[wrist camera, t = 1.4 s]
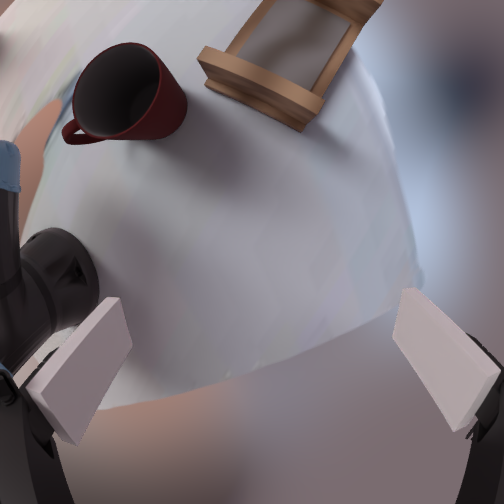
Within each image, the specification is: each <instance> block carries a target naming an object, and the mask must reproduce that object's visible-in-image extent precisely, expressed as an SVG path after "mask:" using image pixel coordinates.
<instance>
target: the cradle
mask: <svg viewBox="0 0 504 504" xmlns="http://www.w3.org/2000/svg"><path fill="white" fill-rule="evenodd" d="M383 1H384V0H263V1H262V2H261V4H260V5H259V6H258V7H257V9H256V10H255V11H254V12H253V14H252V15H251V16H250V18H249V19H248V20H247V22H246V23H245V24H244V26H243V27H242V28H241V30H240V31H239V32H238V34H237V35H236V37H235V38H234V39H233V41H232V42H231V44H230V45H229V47H228V48H227V49H226V51H225V52H222V51H219V50H217V49H214V48H211V47H208V46H205V47H204V48H203V50H202V51H201V53H200V54H199V56H198V57H197V60H198V62H199V64H200V65H201V67H202V69H203V70H204V72H205V74H206V75H207V77H208V79H207V80H206V82H205V84H204V85H205V86H206V87H207V88H209V89H212V90H214V91H216V92H219V93H221V94H223V95H226V96H228V97H230V98H232V99H235V100H237V101H239V102H241V103H243V104H246V105H248V106H250V107H252V108H254V109H256V110H258V111H260V112H262V113H264V114H266V115H268V116H270V117H272V118H274V119H276V120H278V121H280V122H282V123H283V124H285V125H287V126H289V127H291V128H293V129H294V130H296V131H298V132H300V133H301V132H302V131H303V129H304V128H305V126H306V124H308V123H309V122H310V121H311V120H312V119H313V118H314V117H315V116H316V115H317V114H318V113H319V111H320V109H321V107H322V106H323V104H324V102H325V100H324V99H322V96H323V94H324V93H325V91H326V89H327V87H328V86H329V84H330V82H331V81H332V79H333V77H334V75H335V74H336V72H337V70H338V69H339V67H340V65H341V63H342V62H343V60H344V58H345V57H346V55H347V53H348V52H349V50H350V48H351V46H352V45H353V43H354V41H355V40H356V38H357V36H358V35H359V33H360V31H361V30H362V28H363V26H364V25H365V23H367V21H368V20H369V18H371V16H372V15H373V14H374V13H375V12H376V10H377V9H378V8H379V7H380V6H381V4H382V2H383Z"/></svg>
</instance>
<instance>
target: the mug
mask: <svg viewBox="0 0 504 504" xmlns="http://www.w3.org/2000/svg"><path fill="white" fill-rule="evenodd" d="M72 109H73V115H74V118H75V119H73V120H71V121H70V122H69V123H67V124H66V125H65V126H64V127H63V129H62V136H63V139H64V141H65V142H66V143H67V144H71V145H83V144H91V143H96V142H100V141H104V140H107V139H108V140H156V139H162V138H164V137H167V136H169V135H170V134H172V133H173V132H175V131H176V130H177V129H178V128H179V126H180V125H181V124H182V122H183V120H184V118H185V115H186V112H187V100H186V96H185V94H184V92H183V91H182V89H181V88H180V86H179V84H178V83H177V81H176V80H175V78H174V77H173V75H172V74H171V72H170V71H169V70H168V68H167V67H166V66H165V64H164V63H163V62H162V60H161V59H160V58H159V57H158V56H157V55H156V54H155V53H154V52H153V51H152V50H151V49H150V48H148V47H147V46H145V45H142V44H139V43H132V42H129V43H121V44H118V45H115V46H112V47H110V48H108V49H106V50H104V51H103V52H101V53H100V54H98V55H97V56H96V57H95V58H94V59H93V60H92V61H91V62H90V63H89V64H88V65H87V66H86V68H85V69H84V70H83V72H82V73H81V75H80V77H79V79H78V81H77V83H76V86H75V89H74V93H73V100H72ZM80 129H81V130H82V131H83V132H84V133H86V134H74V133H75V132H77V131H78V130H80Z"/></svg>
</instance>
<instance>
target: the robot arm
mask: <svg viewBox="0 0 504 504" xmlns="http://www.w3.org/2000/svg"><path fill="white" fill-rule="evenodd" d="M20 161H21V157H20V152H19V149H18V147H17V146H16V145H15V144H14V143H12V142H9V141H5V140H0V504H75V503H74V501H73V498H72V495H71V493H70V490H69V487H68V484H67V481H66V478H65V475H64V472H63V469H62V465H61V462H60V459H59V455H58V451H57V447H56V443H55V441H54V438H53V437H52V434H53V432H54V431H55V432H56V433H57V434H58V436H59V437H60V438H61V440H62V441H65V442H68V443H70V444H73V445H75V446H78V445H79V442H80V441H81V439H82V437H83V435H84V433H85V431H86V429H87V427H88V425H89V423H90V421H91V419H92V417H93V416H94V414H95V412H96V410H97V408H98V406H99V405H100V403H101V401H102V399H103V397H104V395H105V394H106V392H107V390H108V388H109V386H110V385H111V383H112V381H113V379H114V378H115V376H116V374H117V372H118V371H119V369H120V367H121V366H122V364H123V362H124V360H125V359H126V357H127V355H128V354H129V352H130V350H131V349H132V347H133V344H132V340H131V337H130V333H129V330H128V326H127V323H126V319H125V315H124V311H123V307H122V303H121V299H120V298H117V297H106V298H105V299H104V300H103V301H102V302H101V304H100V305H99V306H98V307H97V308H96V309H95V307H96V305H97V302H98V297H99V284H98V278H97V274H96V270H95V268H94V265H93V262H92V260H91V258H90V256H89V255H88V253H87V251H86V250H85V248H84V247H83V246H82V244H81V243H80V242H79V241H78V240H77V239H76V238H75V237H74V236H73V235H71V234H70V233H68V232H67V231H65V230H62V229H59V228H48V229H45V230H42V231H40V232H37V233H36V234H34V235H33V236H31V237H30V239H29V240H28V241H27V242H26V243H25V244H24V245H23V246H22V247H21V249H20V244H19V227H18V225H19V224H18V208H19V193H20V192H21V187H20V185H19V184H20ZM94 309H95V310H94ZM80 323H81V324H80ZM78 324H80V325H79V326H78V328H77V329H76V330H75V331H74V332H73V333H72V334H71V335H70V336H69V337H68V338H67V339H66V341H65V342H64V343H63V344H62V345H61V346H60V347H58V348H56V349H55V350H53V351H52V352H50V353H49V354H48V355H47V356H46V357H45V358H44V360H43V362H41V363H40V364H39V365H38V367H37V369H35V370H34V371H33V372H32V373H31V375H30V376H29V377H28V378H27V379H26V381H25V382H24V383H23V384H22V385H21V387H20V388H19V389H18V387H17V386H16V384H15V382H14V380H13V376H14V375H15V374H16V373H17V372H18V370H19V369H20V368H21V367H22V366H23V365H24V364H25V363H26V362H27V361H28V359H29V358H30V357H31V356H32V355H33V354H34V353H35V352H36V351H37V350H38V349H39V348H40V347H41V346H42V345H43V344H44V342H45V341H46V340H47V339H48V338H49V337H50V336H51V335H52V334H54V333H55V332H58V331H61V330H63V329H66V328H69V327H71V326H75V325H78ZM392 338H393V340H394V341H395V342H396V344H397V345H398V347H399V348H400V350H401V351H402V352H403V354H404V355H405V357H406V358H407V360H408V361H409V363H410V364H411V366H412V367H413V369H414V370H415V372H416V373H417V375H418V376H419V378H420V379H421V381H422V382H423V384H424V385H425V387H426V388H427V390H428V391H429V393H430V395H431V396H432V398H433V399H434V401H435V403H436V404H437V406H438V407H439V409H440V411H441V412H442V414H443V416H444V417H445V419H446V421H447V422H448V424H449V426H450V427H451V429H452V431H453V432H455V431H457V430H459V429H461V428H464V427H466V426H467V425H468V424H469V423H470V421H471V420H472V418H473V417H474V416H475V415H476V417H477V418H478V421H477V422H476V424H475V425H474V426H473V428H472V429H471V430H470V432H469V433H468V434H467V436H466V439H468V438H469V437H470V436H471V434H472V433H473V437H472V438H471V440H472V444H471V449H470V454H469V458H468V462H467V467H466V471H465V474H464V478H463V481H462V485H461V488H460V491H459V494H458V498H457V500H456V503H455V504H504V367H503V366H502V365H501V364H500V363H499V362H498V361H497V360H496V358H495V357H494V356H493V355H492V354H491V353H489V352H488V351H487V349H486V348H485V347H484V346H483V347H482V344H481V343H480V342H479V341H478V340H477V339H476V338H474V337H472V336H471V335H469V334H467V333H464V332H463V331H462V330H461V329H460V328H459V327H458V326H457V325H456V324H455V323H454V322H453V321H452V320H451V319H450V318H449V317H448V316H447V315H446V314H445V313H443V312H442V311H441V310H440V309H439V308H438V307H437V306H436V305H434V304H433V303H432V302H431V301H430V300H429V299H428V298H427V297H426V296H424V295H423V294H422V293H421V292H420V291H419V290H418V289H417V288H405V289H403V290H402V295H401V300H400V305H399V310H398V314H397V319H396V323H395V327H394V332H393V335H392Z"/></svg>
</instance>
